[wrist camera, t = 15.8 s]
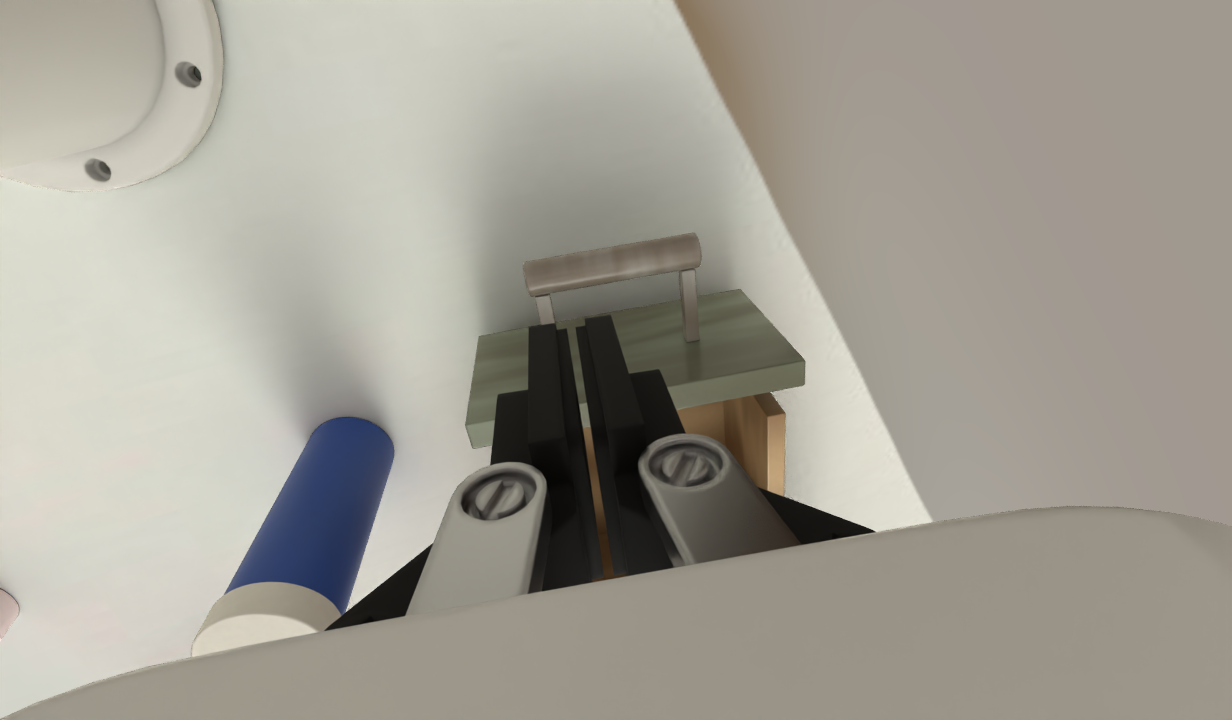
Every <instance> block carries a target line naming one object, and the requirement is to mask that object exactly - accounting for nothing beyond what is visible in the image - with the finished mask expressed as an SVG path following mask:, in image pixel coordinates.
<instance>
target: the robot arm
mask: <svg viewBox="0 0 1232 720" xmlns="http://www.w3.org/2000/svg"><path fill="white" fill-rule="evenodd" d="M223 62H224V56H223V49H222V41H221V34H220V27H219V21H218V18H217V15H216V12H215V8H214V5H213V2H212V0H0V177H4V178H7V179H10V180H14V181H17V182H20V183H24V184H27V185H30V186H34V187H40V188H47V189H54V190H61V191H67V192H91V191H107V190H112V189H116V188H121V187H126V186H131V185H134V184H137V183H140V182H143V181H145V180H148V179H151V178H153V177H156V176H158V175H160V174H162V173H163V172H165V171H167V170H168V169H170V168H172V167H173V166H175V165H177V164H178V163H180V162H181V161H182V160H183V159H184V158H185V157H186V156H187V155H188V154H189V153H190V152H191V151H192V150H193V149H194V148H195V147H196V146H197V145H198V144H199V143H200V142H201V140H202V138H203V137H204V135H205V133H206V131H207V130H208V128H209V126H210V124H211V123H212V121H213V119H214V116H215V113H216V109H217V106H218V102H219V99H220V95H221V91H222V80H223ZM195 67H197V68H198V70H199V71H200V73H201V78H202V80H201V81H200V80H198V79H197V78H196V77H195V75H194V72H193V70H194V68H195ZM106 164H107V166H108V167H109V168H110V170H109V169H108V168H107V166H106ZM575 329H576V335H577V342H578V348H579V355H580V361H581V368H582V375H583V381H584V388H585V394H586V401H587V407H588V414H589V420H590V427H591V434H592V440H593V447H594V453H595V459H596V465H597V472H598V478H599V484H600V491H601V497H602V503H603V509H604V516H605V522H606V528H607V534H608V541H609V547H610V553H611V560H612V566H613V572H614V576H615V575H620V574H626V577H621V578H615V579H609V580H604V581H598V582H592V579H598V578H604V573H603V566H602V559H601V552H600V544H599V537H598V530H597V523H596V516H595V509H594V502H593V494H592V487H591V480H590V473H589V466H588V459H587V452H586V445H585V438H584V432H583V426H582V420H581V413H580V407H579V401H578V395H577V388H576V382H575V376H574V370H573V364H572V357H571V351H570V345H569V339H568V332H567V328H565V329H558V330H557V328H556V324H555V323H551V324H544V325H537V326H531V327H529V336H528V389H527V390H521V391H514V392H508V393H501V394H498V396H497V403H496V413H495V423H494V434H493V444H492V454H491V464H490V466H488V467H485V468H483V469H480V470H478V471H476V472H475V473H473V474H471V475H470V476H468V477H467V478H466V479H465V480H464V481H463V482H462V483H460V484H459V485H458V487H457V488H456V490H455V491H454V493H453V495H452V497H451V499H450V502H449V504H448V507H447V510H446V512H445V515H444V517H443V520H442V522H441V525H440V528H439V530H438V533H437V535H436V538H435V540H434V543H433V544H431V545H430V546H429V547H428V548H426V549H425V550H424V551H423V552H421V553H420V554H419V555H418V556H416V557H415V558H414V559H413V560H411V561H410V562H409V563H407V564H406V565H405V566H404V567H402V568H401V569H400V570H399V571H397V572H396V573H395V574H394V575H392V576H391V577H390V578H389V579H387V580H386V581H385V582H384V583H382V584H381V585H380V586H378V587H377V588H376V589H375V590H373V591H372V592H371V593H370V594H368V595H367V596H366V597H365V598H363V599H362V600H361V601H360V602H358V603H357V604H356V605H355V606H353V607H352V608H351V609H350V610H348V611H347V612H346V613H344V614H343V615H342V616H341V617H339V618H338V619H337V620H336V621H334V622H333V623H332V624H331V625H329V626H328V627H327V628H326V629H325V630H324V631H322V632H317V633H311V634H306V635H301V636H295V637H290V638H284V639H279V640H273V641H268V642H263V643H257V644H252V645H246V646H242V647H237V648H232V649H228V650H223V651H218V652H214V653H209V654H204V655H200V656H195V657H190V658H186V659H181V660H176V661H172V662H167V663H163V664H158V665H153V666H149V667H145V668H141V669H138V670H134V671H131V672H127V673H124V674H120V675H117V676H113V677H110V678H106V679H103V680H99V681H96V682H92V683H89V684H87V685H84V686H81V687H78V688H76V689H73V690H70V691H67V692H65V693H62V694H59V695H56V696H54V697H51V698H48V699H45V700H42V701H40V702H37V703H34V704H32V705H30V706H28V707H25V708H23V709H21V710H19V711H17V712H15V713H12V714H10V715H8V716H6V717H4V718H1V719H0V720H1232V526H1228V525H1226V524H1223V523H1219V522H1214V521H1210V520H1205V519H1201V518H1197V517H1192V516H1187V515H1181V514H1176V513H1170V512H1161V511H1152V510H1143V509H1134V508H1124V507H1091V506H1088V507H1087V506H1065V507H1050V508H1037V509H1036V508H1035V509H1022V510H1015V511H1008V512H1001V513H994V514H986V515H979V516H973V517H966V518H958V519H952V520H944V521H938V522H932V523H926V524H920V525H915V526H909V527H903V528H897V529H892V530H886V531H880V532H875V531H873V530H871V529H869V528H866V527H864V526H861V525H858V524H856V523H853V522H850V521H848V520H845V519H842V518H839V517H837V516H834V515H831V514H829V513H826V512H823V511H821V510H818V509H815V508H813V507H810V506H807V505H805V504H802V503H799V502H797V501H794V500H791V499H789V498H786V497H783V496H781V495H778V494H775V493H773V492H770V491H767V490H765V489H762V488H759V487H757V486H756V485H755V483H754V482H753V481H752V480H751V478H750V477H749V476H748V474H747V473H746V472H745V470H744V469H743V468H742V467H741V465H740V464H739V463H738V461H737V460H736V459H735V458H734V456H733V455H732V454H731V452H730V451H729V450H728V449H727V448H726V447H725V446H724V445H723V444H722V443H720V442H718V441H716V440H714V439H712V438H710V437H707V436H703V435H698V434H686V432H685V430H684V428H683V425H682V423H681V420H680V418H679V415H678V413H677V410H676V408H675V405H674V403H673V401H672V398H671V396H670V393H669V391H668V388H667V386H666V383H665V381H664V378H663V376H662V374H661V372H660V370H659V369H655V370H649V371H642V372H636V373H629V372H628V369H627V366H626V362H625V359H624V356H623V352H622V349H621V346H620V343H619V339H618V336H617V333H616V330H615V326H614V323H613V320H612V317H611V315H604V316H598V317H591V318H585V326H578V327H575Z"/></svg>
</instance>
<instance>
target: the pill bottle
mask: <svg viewBox="0 0 1232 720" xmlns="http://www.w3.org/2000/svg"><path fill="white" fill-rule="evenodd" d="M393 459H394V447H393V444H392V442H391V440H390V438H389V436H388V435H387V434H386V433H385V432H384V431H383V430H382V429H381V428H380V427H378V426H377V425H375V424H373V423H371V422H369V421H366V420H363V419H359V418H353V417H342V418H336V419H332V420H329V421H327V422H325V423H323V424H321V425H320V426H319V427H318V428H317V429H315V431H314V432H313V433H312V435H311V437H310V439H309V440H308V442H307V444H306V446H305V448H304V450H303V451H302V453H301V455H300V457H299V459H298V460H297V462H296V464H295V466H294V468H293V470H292V471H291V473H290V475H289V477H288V479H287V481H286V482H285V484H284V486H283V488H282V490H281V492H280V493H279V495H278V497H277V499H276V501H275V503H274V504H273V506H272V508H271V510H270V512H269V513H268V515H267V517H266V519H265V521H264V523H263V524H262V526H261V528H260V530H259V532H258V534H257V535H256V537H255V539H254V541H253V543H252V545H251V546H250V548H249V550H248V552H247V554H246V555H245V557H244V559H243V561H242V563H241V565H240V566H239V568H238V570H237V572H236V574H235V576H234V577H233V579H232V581H231V583H230V585H229V587H228V588H227V590H226V592H225V594H224V596H222V597H221V598H220V599H219V600H218V601H217V602H216V603H215V604H214V605H213V607H212V608H211V610H210V612H209V614H208V616H207V617H206V619H205V621H204V623H203V625H202V626H201V628H200V630H199V632H198V633H197V635H196V637H195V639H194V641H193V644H192V648H191V656H192V657H195V656H200V655H204V654H209V653H214V652H218V651H223V650H228V649H232V648H237V647H242V646H246V645H252V644H257V643H263V642H268V641H273V640H279V639H284V638H290V637H295V636H301V635H306V634H311V633H317V632H322V631H324V630H325V629H326V628H327V627H328V626H329V625H331V624H332V623H333V622H334V621H336V620H337V619H338V618H339V617H341V616H342V615H343V614H344V613H345V612H346V609H347V606H348V602H349V599H350V596H351V593H352V590H353V586H354V583H355V580H356V577H357V574H358V571H359V567H360V564H361V561H362V558H363V555H364V552H365V548H366V545H367V542H368V539H369V536H370V532H371V529H372V526H373V523H374V520H375V517H376V513H377V510H378V507H379V504H380V501H381V498H382V494H383V491H384V488H385V485H386V482H387V478H388V475H389V472H390V469H391V466H392V463H393Z"/></svg>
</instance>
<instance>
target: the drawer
mask: <svg viewBox="0 0 1232 720" xmlns="http://www.w3.org/2000/svg"><path fill="white" fill-rule="evenodd" d="M700 265H701V247H700V243H699V239H698V237H697V235H696V234H695V233H688V234H683V235H677V236H671V237H665V238H660V239H654V240H648V241H642V242H636V243H631V244H625V245H619V246H613V247H607V248H602V249H596V250H590V251H584V252H579V253H573V254H567V255H561V256H555V257H550V258H544V259H538V260H532V261H526V262H524V263H523V269H524V276H525V281H526V286H527V290H528V293H529V295H530V296H531V297H533V296H535V300H536V305H537V309H538V314H539V319H540V323H541V325H544V324H551V323H555V324H556V328H557V330H558V329H565V328H567V332H568V339H569V345H570V351H571V357H572V364H573V370H574V376H575V382H576V388H577V395H578V401H579V407H580V413H581V420H582V426H583V432H584V438H585V445H586V452H587V459H588V466H589V473H590V480H591V487H592V494H593V502H594V509H595V516H596V523H597V530H598V537H599V544H600V552H601V559H602V566H603V573H604V578H598V579H592V582H598V581H604V580H609V579H615V578H621V577H626V574H620V575H615V576H614V572H613V566H612V560H611V553H610V547H609V541H608V534H607V528H606V522H605V516H604V509H603V503H602V497H601V491H600V484H599V478H598V472H597V465H596V459H595V453H594V447H593V440H592V434H591V427H590V420H589V414H588V407H587V401H586V394H585V388H584V381H583V375H582V368H581V361H580V355H579V348H578V342H577V335H576V329H575V327H578V326H585V318H591V317H598V316H604V315H611V317H612V320H613V323H614V326H615V330H616V333H617V336H618V339H619V343H620V346H621V349H622V352H623V356H624V359H625V362H626V366H627V369H628V372H629V373H636V372H642V371H649V370H655V369H659V370H660V372H661V374H662V376H663V378H664V381H665V383H666V386H667V388H668V391H669V393H670V396H671V398H672V401H673V403H674V405H675V408H676V410H677V413H678V415H679V418H680V420H681V423H682V425H683V428H684V430H685V432H686V434H698V435H703V436H707V437H710V438H712V439H714V440H716V441H718V442H720V443H722V444H723V445H724V446H725V447H726V448H727V449H728V450H729V451H730V452H731V454H732V455H733V456H734V458H735V459H736V460H737V461H738V463H739V464H740V465H741V467H742V468H743V469H744V470H745V472H746V473H747V474H748V476H749V477H750V478H751V480H752V481H753V482H754V483H755V485H756V486H757V487H759V488H762V489H765V490H767V491H770V492H773V493H775V494H778V495H781V496H783V497H784V473H785V412H784V411H783V409H782V408H781V407H780V405H779V404H778V402H777V401H776V400H775V398H774V397H773V395H772V394H771V393H770V392H773V391H778V390H783V389H788V388H793V387H799V386H803V385H804V384H805V360H804V359H803V357H802V356H801V355H800V354H799V353H798V352H797V351H796V350H795V349H794V348H793V346H792V345H791V344H790V343H789V342H788V341H787V340H786V339H785V338H784V337H783V335H782V334H781V333H780V332H779V331H778V330H777V329H776V328H775V327H774V326H773V324H772V323H771V322H770V321H769V320H768V319H767V318H766V317H765V316H764V315H763V313H762V312H761V311H760V310H759V309H758V308H757V307H756V306H755V305H754V304H753V302H752V301H751V300H750V299H749V298H748V297H747V296H746V295H745V294H744V293H743V291H742V290H741V289H737V290H732V291H726V292H721V293H715V294H710V295H704V296H699V297H697V290H696V275H695V269H694V268H697V267H699V266H700ZM674 271H678V273H679V285H680V297H681V300H676V301H671V302H665V303H660V304H654V305H648V306H643V307H637V308H632V309H626V310H621V311H615V312H610V313H604V314H598V315H593V316H587V317H582V318H576V319H571V320H565V321H559V322H555V317H554V312H553V307H552V302H551V297H550V293H556V292H561V291H567V290H573V289H578V288H584V287H590V286H595V285H601V284H607V283H612V282H618V281H624V280H629V279H635V278H641V277H646V276H652V275H658V274H663V273H669V272H674ZM528 336H529V327H526V328H521V329H515V330H509V331H504V332H498V333H493V334H487V335H482V336H479V338H478V345H477V351H476V358H475V365H474V371H473V378H472V384H471V391H470V397H469V404H468V411H467V417H466V424H465V426H466V429H467V433H468V436H469V439H470V442H471V445H472V448H473V449H475V448H480V447H486V446H491V445H492V444H493V434H494V423H495V413H496V403H497V396H498V394H501V393H508V392H514V391H521V390H527V389H528Z"/></svg>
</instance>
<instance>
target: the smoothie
mask: <svg viewBox="0 0 1232 720" xmlns="http://www.w3.org/2000/svg"><path fill="white" fill-rule="evenodd" d="M18 614H19V606H18V604H17V602H16V601H15V600H14V599H13V598H12V597H11V596H10V595H9V594H7V593H6V592H4V591H2V590H0V641H1V639H2V638H3V636H4V635H5V634H6V632H7V631H8V629H9V628H10V626H11V625H12V624H13V622H14V621H15V619H16V618H17V616H18Z"/></svg>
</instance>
